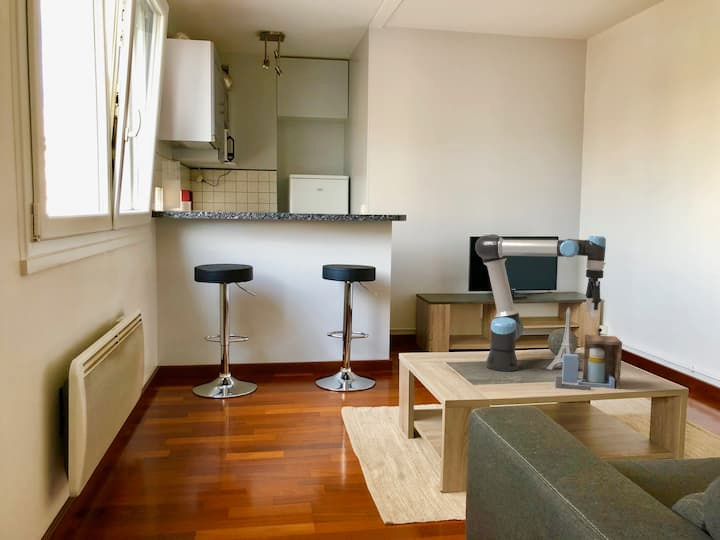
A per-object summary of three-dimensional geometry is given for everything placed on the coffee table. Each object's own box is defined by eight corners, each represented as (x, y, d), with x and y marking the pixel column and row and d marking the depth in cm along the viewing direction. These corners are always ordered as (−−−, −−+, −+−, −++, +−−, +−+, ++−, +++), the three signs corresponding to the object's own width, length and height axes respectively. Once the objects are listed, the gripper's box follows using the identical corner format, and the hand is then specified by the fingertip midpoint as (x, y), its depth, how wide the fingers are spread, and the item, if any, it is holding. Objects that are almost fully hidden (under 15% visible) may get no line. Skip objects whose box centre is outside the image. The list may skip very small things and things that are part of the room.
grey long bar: (555, 387, 251) (556, 376, 251) (555, 386, 254) (555, 375, 253) (590, 390, 248) (591, 379, 248) (589, 389, 251) (590, 377, 250)
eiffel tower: (546, 369, 283) (549, 307, 280) (558, 364, 293) (561, 304, 290) (573, 374, 274) (576, 310, 271) (585, 369, 284) (588, 307, 281)
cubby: (587, 386, 254) (589, 340, 252) (582, 378, 266) (585, 334, 265) (619, 389, 251) (622, 342, 249) (613, 380, 264) (615, 336, 262)
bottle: (603, 381, 262) (605, 348, 260) (604, 386, 255) (606, 352, 254) (586, 380, 264) (588, 347, 263) (587, 384, 258) (589, 350, 256)
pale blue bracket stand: (564, 384, 256) (565, 357, 255) (561, 378, 266) (562, 352, 265) (614, 388, 252) (615, 361, 251) (609, 382, 262) (611, 355, 261)
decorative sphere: (549, 359, 302) (550, 330, 301) (544, 352, 317) (546, 325, 315) (579, 360, 300) (581, 331, 298) (573, 354, 314) (575, 326, 313)
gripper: (609, 272, 261) (606, 319, 263) (597, 267, 285) (594, 310, 288) (592, 271, 262) (588, 318, 265) (581, 266, 287) (578, 309, 289)
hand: (591, 314), depth 276 cm, fingers open, 13 cm apart
